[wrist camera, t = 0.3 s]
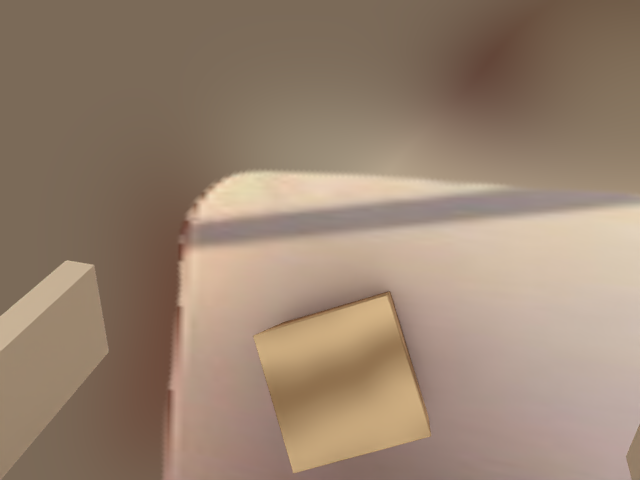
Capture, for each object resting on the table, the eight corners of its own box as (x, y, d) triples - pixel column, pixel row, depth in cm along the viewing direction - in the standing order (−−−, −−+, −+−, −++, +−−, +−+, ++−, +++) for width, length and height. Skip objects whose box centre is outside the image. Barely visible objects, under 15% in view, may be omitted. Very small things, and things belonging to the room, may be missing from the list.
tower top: (428, 416, 42) (431, 436, 37) (306, 449, 43) (293, 473, 38) (389, 292, 43) (387, 295, 38) (270, 328, 44) (253, 335, 39)
